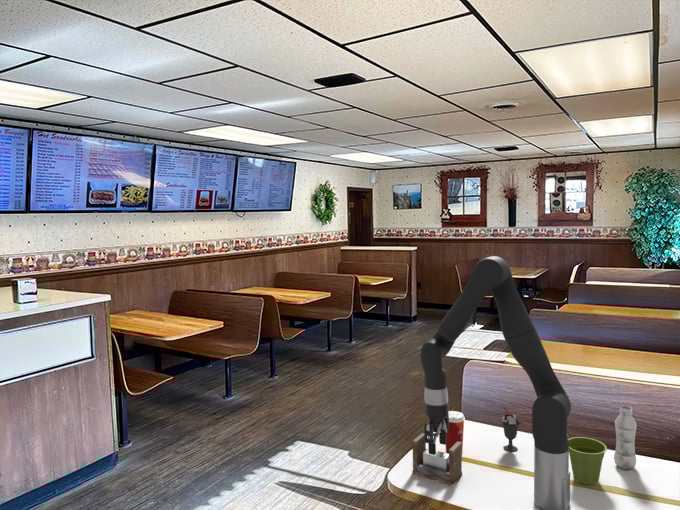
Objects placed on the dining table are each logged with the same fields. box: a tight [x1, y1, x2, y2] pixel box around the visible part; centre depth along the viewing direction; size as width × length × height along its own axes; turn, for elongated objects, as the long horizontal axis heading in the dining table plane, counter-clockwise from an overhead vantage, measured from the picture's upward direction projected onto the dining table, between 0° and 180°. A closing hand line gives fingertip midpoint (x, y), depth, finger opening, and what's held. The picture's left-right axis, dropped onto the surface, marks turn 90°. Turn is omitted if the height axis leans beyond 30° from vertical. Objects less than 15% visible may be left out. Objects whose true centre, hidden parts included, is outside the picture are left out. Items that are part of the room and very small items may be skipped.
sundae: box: [500, 407, 521, 453], centre depth 185 cm, size 7×7×15 cm
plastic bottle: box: [613, 405, 638, 470], centre depth 170 cm, size 6×7×20 cm
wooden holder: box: [411, 432, 463, 486], centre depth 169 cm, size 14×8×11 cm, turn 56°
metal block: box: [423, 448, 449, 472], centre depth 169 cm, size 8×4×6 cm, turn 56°
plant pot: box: [568, 436, 608, 486], centre depth 164 cm, size 12×12×11 cm
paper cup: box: [444, 410, 466, 454], centre depth 184 cm, size 8×8×14 cm
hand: (437, 448), depth 169 cm, fingers open, 8 cm apart
